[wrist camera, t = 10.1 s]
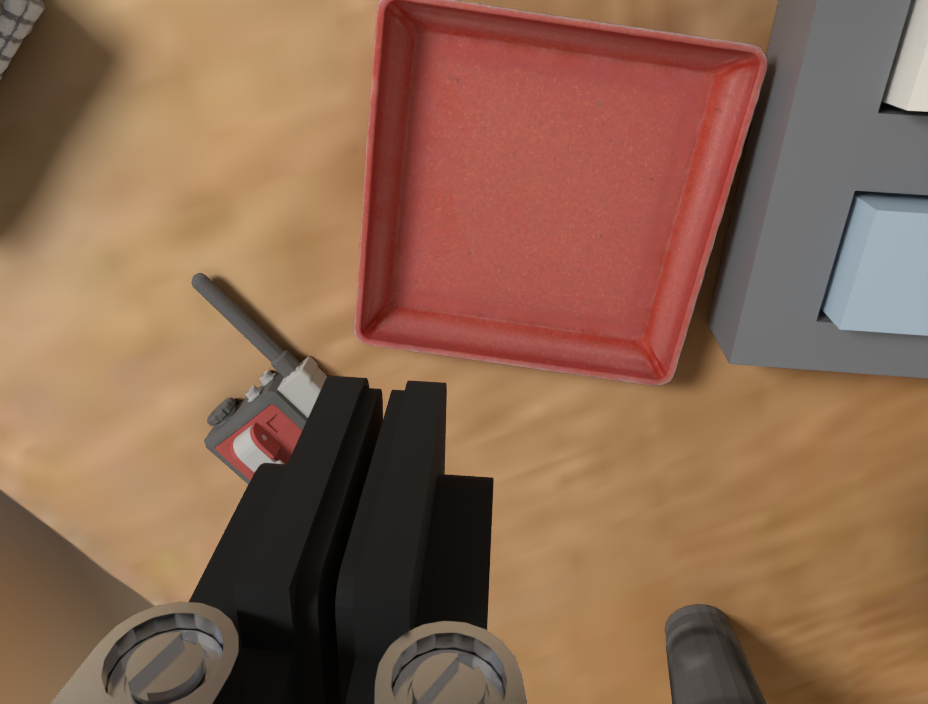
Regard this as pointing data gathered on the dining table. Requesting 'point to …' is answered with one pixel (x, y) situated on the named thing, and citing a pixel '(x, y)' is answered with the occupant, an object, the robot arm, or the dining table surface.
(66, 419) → the dining table surface
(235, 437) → the walkie-talkie
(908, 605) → the dining table surface
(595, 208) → the plant saucer
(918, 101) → the white key
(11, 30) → the towel
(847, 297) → the blue key
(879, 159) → the console
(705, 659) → the beverage cup
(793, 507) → the dining table surface
